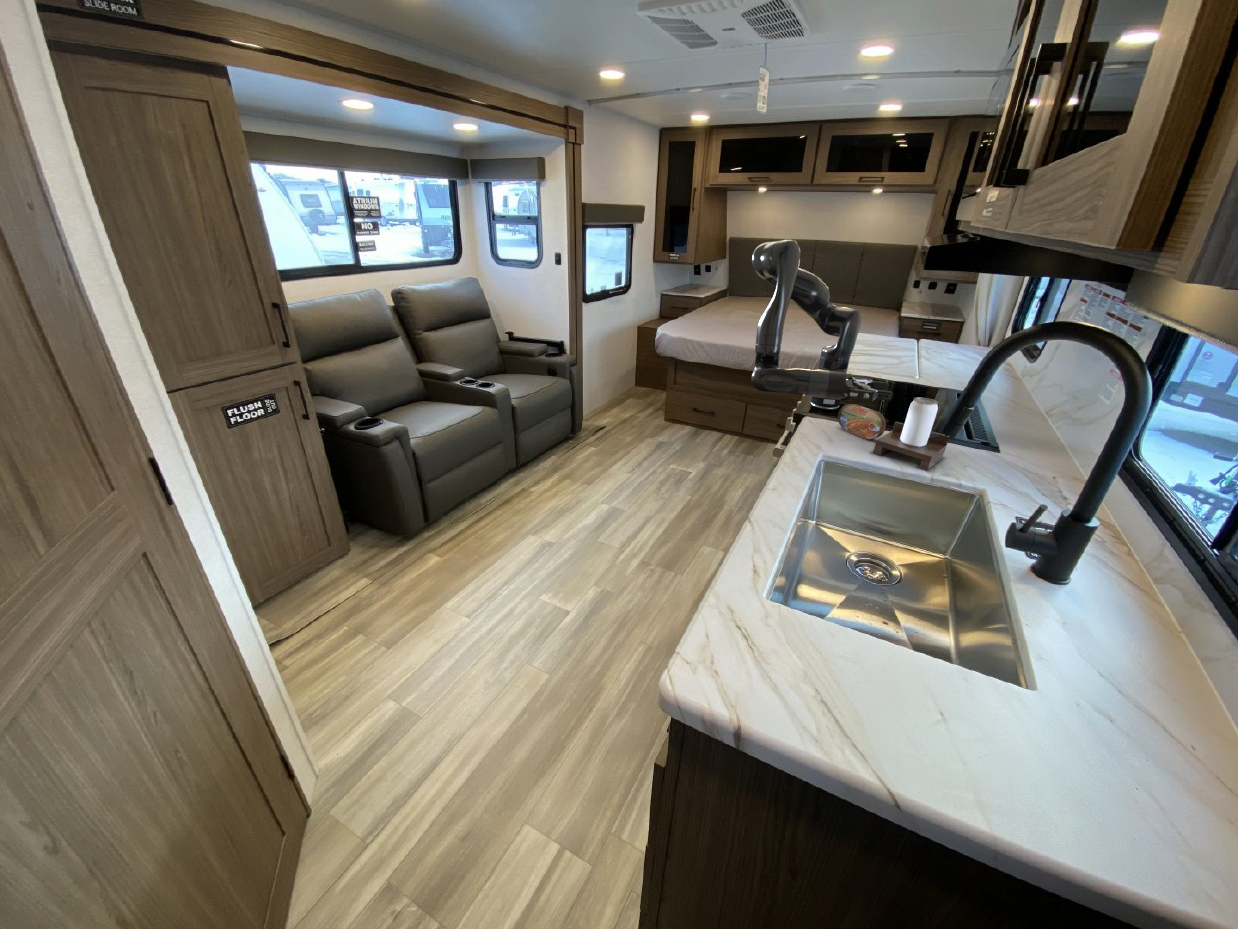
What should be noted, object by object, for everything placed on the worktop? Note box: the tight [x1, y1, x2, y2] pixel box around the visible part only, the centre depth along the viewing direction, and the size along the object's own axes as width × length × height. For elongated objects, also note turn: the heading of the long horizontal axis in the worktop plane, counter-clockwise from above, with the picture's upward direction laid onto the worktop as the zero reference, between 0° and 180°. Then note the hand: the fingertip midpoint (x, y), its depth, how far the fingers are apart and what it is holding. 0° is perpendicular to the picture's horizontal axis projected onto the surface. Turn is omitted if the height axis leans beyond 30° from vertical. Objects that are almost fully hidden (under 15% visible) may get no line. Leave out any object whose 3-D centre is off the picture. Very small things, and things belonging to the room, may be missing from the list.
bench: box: [872, 421, 951, 471], centre depth 135 cm, size 12×14×6 cm
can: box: [900, 396, 939, 447], centre depth 132 cm, size 6×6×12 cm
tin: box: [837, 403, 887, 440], centre depth 148 cm, size 15×3×8 cm, turn 27°
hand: (889, 391), depth 132 cm, fingers open, 8 cm apart
